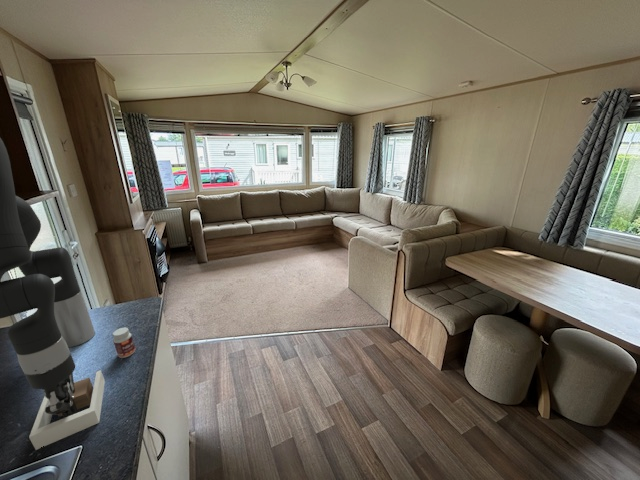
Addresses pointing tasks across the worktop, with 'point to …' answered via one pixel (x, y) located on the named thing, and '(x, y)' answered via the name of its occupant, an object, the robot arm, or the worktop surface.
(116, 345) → the pill bottle
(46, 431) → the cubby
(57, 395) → the robot arm
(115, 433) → the worktop surface
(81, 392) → the walnut block
